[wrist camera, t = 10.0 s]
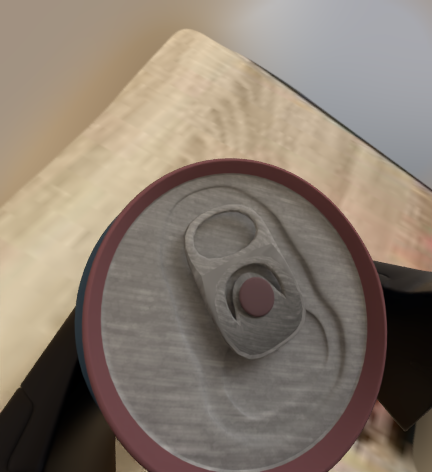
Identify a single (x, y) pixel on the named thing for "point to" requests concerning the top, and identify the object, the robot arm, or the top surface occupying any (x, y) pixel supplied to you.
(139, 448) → the soda can
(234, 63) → the top surface
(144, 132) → the top surface
